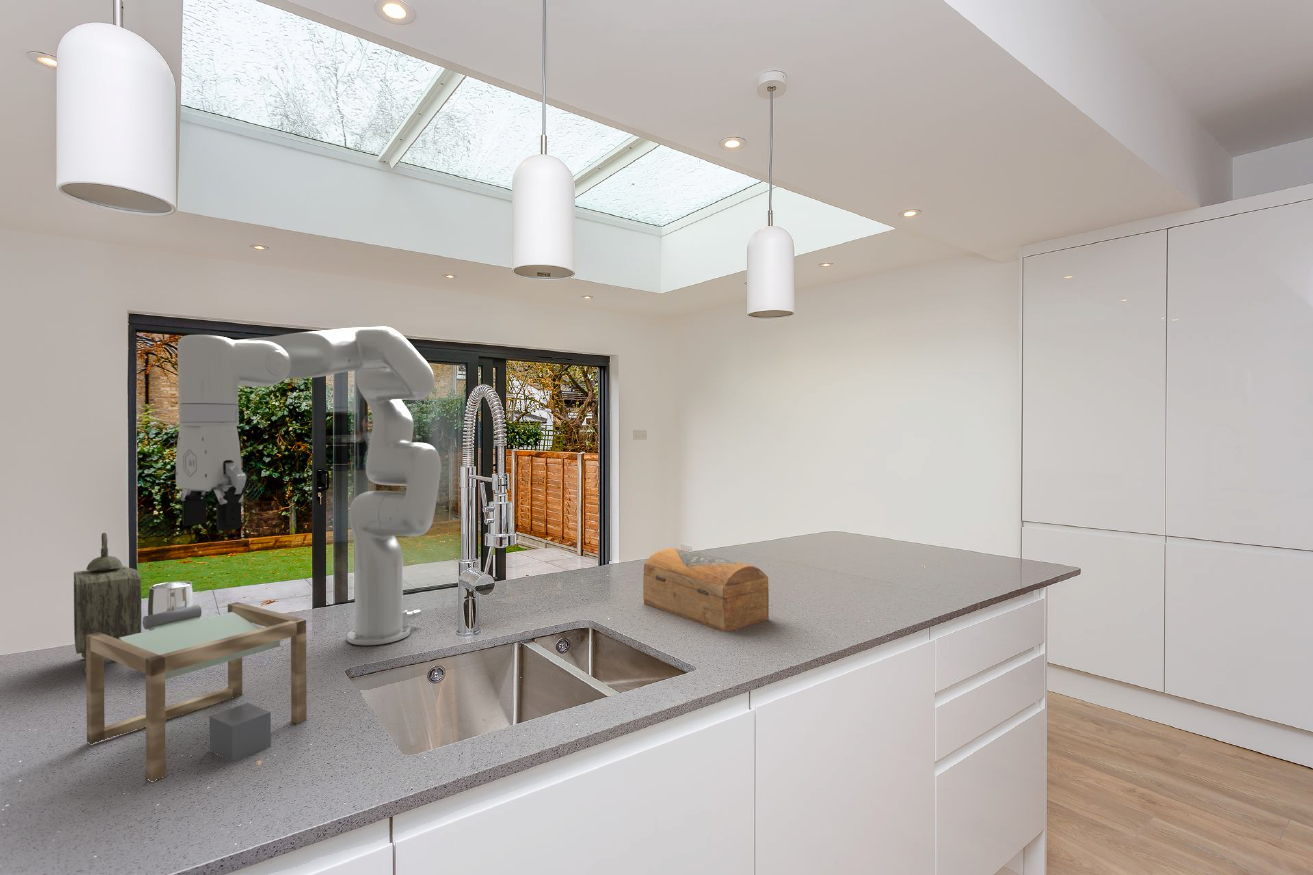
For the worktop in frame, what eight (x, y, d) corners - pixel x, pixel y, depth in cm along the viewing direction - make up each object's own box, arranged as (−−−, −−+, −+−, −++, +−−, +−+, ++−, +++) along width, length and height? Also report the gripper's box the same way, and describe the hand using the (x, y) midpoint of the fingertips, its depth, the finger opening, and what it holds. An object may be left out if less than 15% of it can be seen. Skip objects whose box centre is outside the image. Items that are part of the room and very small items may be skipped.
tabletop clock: (74, 658, 123) (73, 531, 123) (134, 647, 130) (133, 526, 129) (77, 679, 113) (76, 540, 113) (142, 665, 119) (141, 534, 119)
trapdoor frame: (237, 692, 107) (237, 601, 107) (306, 719, 97) (306, 619, 97) (86, 743, 90) (85, 634, 90) (151, 782, 80) (150, 660, 80)
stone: (247, 702, 92) (270, 711, 89) (247, 736, 92) (270, 747, 89) (209, 716, 88) (232, 726, 85) (209, 751, 88) (232, 763, 85)
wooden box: (773, 620, 149) (773, 561, 149) (722, 633, 139) (722, 571, 139) (690, 594, 173) (690, 543, 173) (642, 604, 163) (642, 550, 163)
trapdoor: (221, 611, 105) (223, 597, 104) (279, 646, 96) (280, 631, 96) (108, 636, 92) (109, 621, 91) (164, 679, 83) (165, 662, 83)
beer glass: (140, 671, 117) (140, 590, 116) (159, 658, 123) (158, 581, 123) (184, 667, 118) (183, 588, 118) (200, 654, 125) (199, 579, 125)
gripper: (152, 416, 98) (155, 526, 98) (213, 416, 89) (215, 535, 90) (206, 417, 104) (208, 519, 105) (267, 416, 96) (269, 527, 96)
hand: (211, 527), depth 97 cm, fingers open, 9 cm apart
